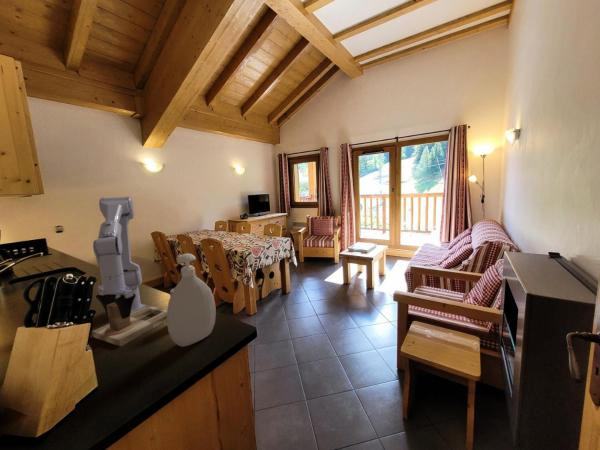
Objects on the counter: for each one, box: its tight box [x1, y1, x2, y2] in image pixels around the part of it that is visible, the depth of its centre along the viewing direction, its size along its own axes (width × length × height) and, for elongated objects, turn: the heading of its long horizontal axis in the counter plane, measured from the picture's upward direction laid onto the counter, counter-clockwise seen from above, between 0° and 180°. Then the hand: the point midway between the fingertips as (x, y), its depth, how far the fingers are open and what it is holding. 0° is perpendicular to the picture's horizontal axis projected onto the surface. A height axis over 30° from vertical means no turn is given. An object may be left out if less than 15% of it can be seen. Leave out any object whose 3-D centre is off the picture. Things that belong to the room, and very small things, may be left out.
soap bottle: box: [166, 252, 217, 348], centre depth 76 cm, size 14×8×27 cm, turn 138°
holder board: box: [91, 305, 168, 347], centre depth 87 cm, size 14×19×2 cm
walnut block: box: [107, 302, 131, 331], centre depth 82 cm, size 4×4×8 cm
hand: (118, 315), depth 82 cm, fingers open, 7 cm apart
